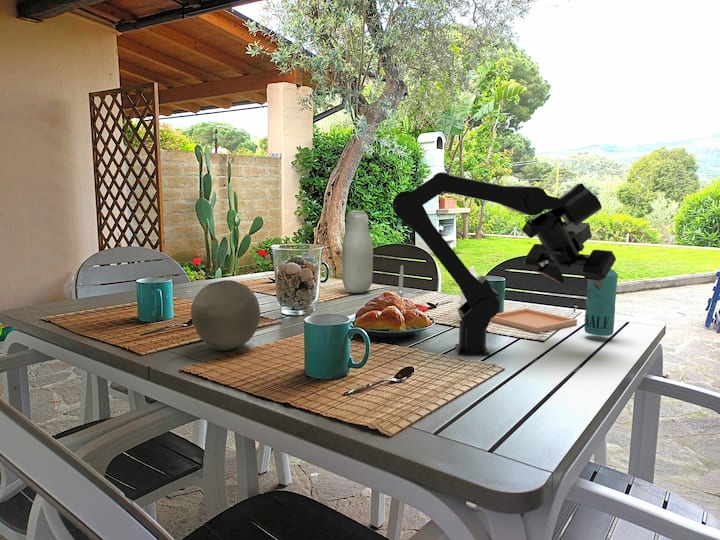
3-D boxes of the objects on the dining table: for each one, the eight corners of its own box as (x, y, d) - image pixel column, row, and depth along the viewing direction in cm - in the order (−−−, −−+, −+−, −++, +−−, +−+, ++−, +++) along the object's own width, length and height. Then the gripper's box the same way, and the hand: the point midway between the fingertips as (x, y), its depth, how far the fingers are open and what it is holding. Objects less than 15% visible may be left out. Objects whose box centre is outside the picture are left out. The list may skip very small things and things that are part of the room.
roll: (461, 263, 162) (479, 264, 162) (460, 301, 164) (478, 302, 163) (462, 266, 157) (481, 266, 156) (460, 305, 158) (479, 306, 157)
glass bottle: (358, 289, 184) (359, 209, 180) (377, 293, 176) (378, 210, 172) (336, 292, 178) (336, 209, 174) (355, 296, 170) (355, 210, 166)
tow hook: (431, 309, 154) (401, 305, 158) (434, 266, 152) (404, 263, 156) (422, 315, 147) (391, 311, 150) (425, 270, 144) (394, 267, 148)
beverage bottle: (604, 335, 126) (611, 252, 123) (619, 342, 119) (626, 255, 116) (578, 335, 126) (583, 252, 123) (591, 342, 119) (597, 255, 116)
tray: (537, 334, 126) (538, 328, 126) (487, 320, 139) (487, 315, 139) (576, 325, 135) (577, 319, 135) (525, 313, 148) (525, 308, 148)
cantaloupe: (190, 344, 115) (188, 277, 113) (255, 339, 120) (253, 274, 118) (194, 364, 102) (191, 288, 100) (266, 357, 107) (265, 284, 105)
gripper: (615, 211, 103) (638, 262, 111) (535, 208, 118) (560, 254, 126) (589, 252, 100) (615, 302, 108) (510, 244, 115) (538, 289, 123)
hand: (581, 284), depth 116 cm, fingers open, 9 cm apart
